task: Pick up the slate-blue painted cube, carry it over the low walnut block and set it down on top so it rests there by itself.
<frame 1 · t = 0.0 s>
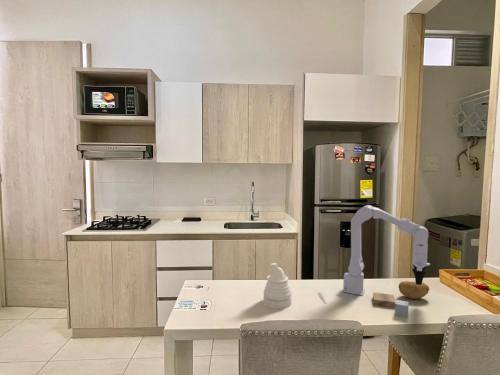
hand: (418, 282, 151), 10 cm above the table, tool pointing down, fingers open, 7 cm apart
potato: (413, 298, 158), on the table
butter knife: (326, 305, 150), on the table
walnut block: (383, 303, 152), on the table
honey pot: (277, 303, 150), on the table
cube: (401, 314, 141), on the table
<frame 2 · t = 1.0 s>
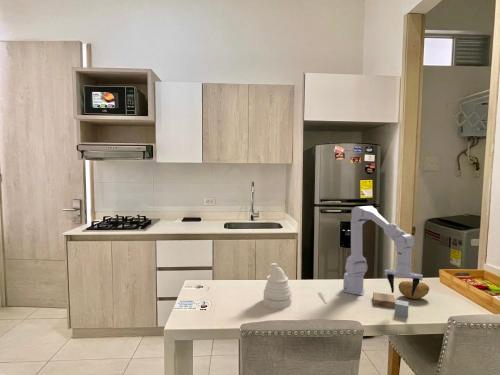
hand: (402, 293, 140), 9 cm above the table, tool pointing down, fingers open, 7 cm apart
nothing on the table moved.
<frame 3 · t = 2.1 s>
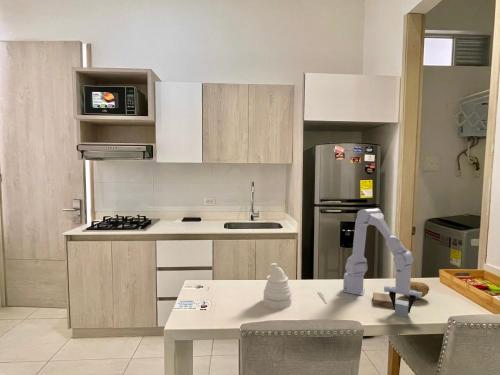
hand: (401, 310, 140), 1 cm above the table, tool pointing down, fingers closed on cube, 5 cm apart
cube: (401, 313, 141), on the table, touching gripper
everything else where it was.
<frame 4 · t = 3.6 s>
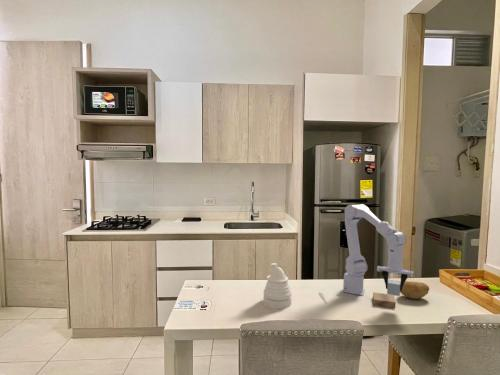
hand: (393, 289, 145), 9 cm above the table, tool pointing down, fingers closed on cube, 5 cm apart
cube: (393, 292, 145), point 7 cm above the table, touching gripper
everything else where it was.
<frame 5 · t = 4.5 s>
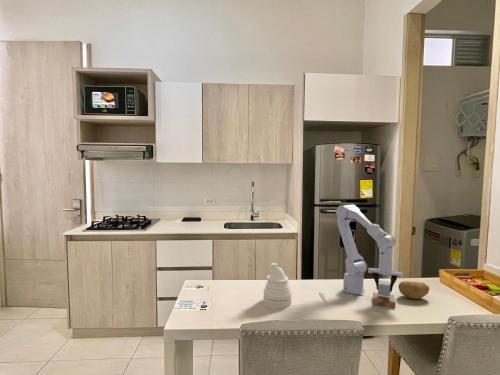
hand: (384, 290, 152), 6 cm above the table, tool pointing down, fingers closed on cube, 5 cm apart
cube: (384, 293, 152), point 4 cm above the table, touching gripper
everything else where it was.
when the fingers open (6 cm above the table, at t = 5.0 s): cube drops 2 cm, resting on walnut block.
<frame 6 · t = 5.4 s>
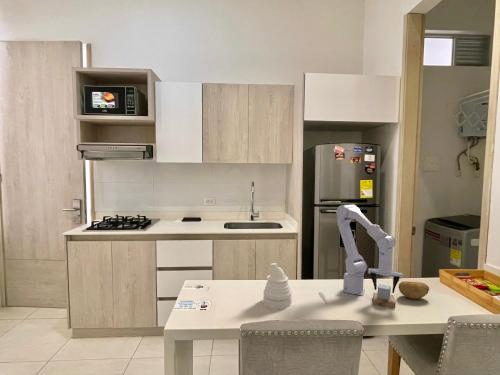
hand: (384, 290, 152), 6 cm above the table, tool pointing down, fingers open, 7 cm apart
walnut block: (383, 303, 152), on the table, touching cube
cube: (383, 297, 152), point 2 cm above the table, touching walnut block
everything else where it was.
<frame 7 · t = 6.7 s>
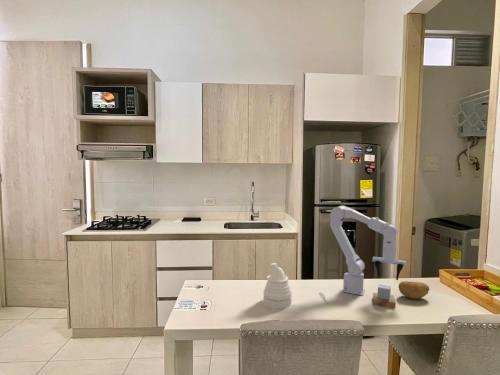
hand: (388, 278, 156), 10 cm above the table, tool pointing down, fingers open, 7 cm apart
walnut block: (383, 303, 152), on the table
cube: (383, 297, 152), point 2 cm above the table
everything else where it was.
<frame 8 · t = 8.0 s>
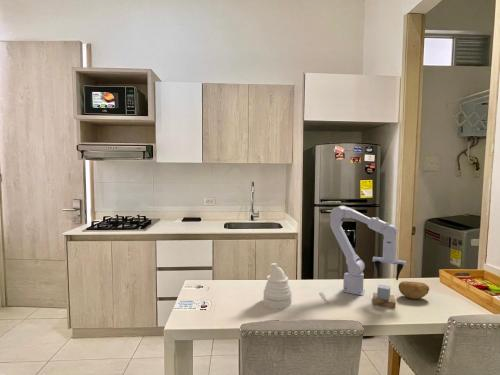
hand: (388, 278, 156), 10 cm above the table, tool pointing down, fingers open, 7 cm apart
walnut block: (383, 303, 152), on the table, touching cube
cube: (383, 297, 152), point 2 cm above the table, touching walnut block
at the end: cube inside the target area on the walnut block (0.1 cm from its centre), point 3.0 cm above the walnut block's base; cube tilted 0°; the gripper is holding nothing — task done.
